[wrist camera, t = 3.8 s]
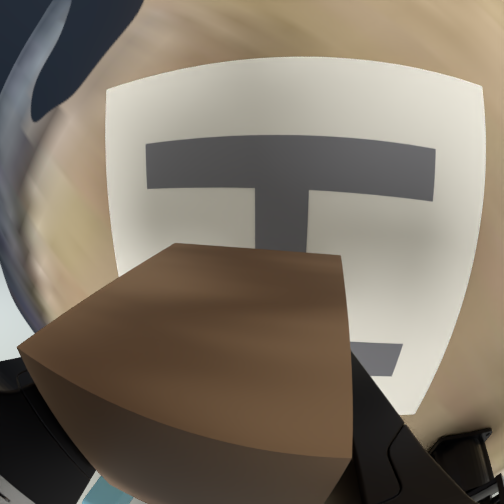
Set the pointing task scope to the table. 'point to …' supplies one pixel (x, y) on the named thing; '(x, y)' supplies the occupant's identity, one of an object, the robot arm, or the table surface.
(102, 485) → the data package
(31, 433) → the robot arm
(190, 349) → the walnut block
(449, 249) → the board
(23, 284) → the table surface
